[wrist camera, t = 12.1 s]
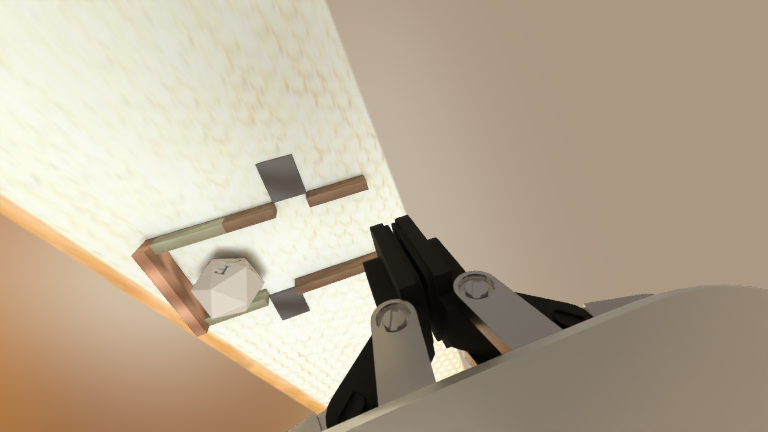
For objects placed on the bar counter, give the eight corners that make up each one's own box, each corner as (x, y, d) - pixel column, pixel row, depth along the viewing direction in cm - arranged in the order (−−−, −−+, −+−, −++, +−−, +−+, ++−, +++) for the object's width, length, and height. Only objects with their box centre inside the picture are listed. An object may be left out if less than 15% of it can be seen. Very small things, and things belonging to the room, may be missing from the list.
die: (275, 263, 48) (250, 263, 38) (261, 315, 46) (230, 329, 37) (228, 252, 48) (191, 250, 38) (212, 304, 46) (169, 315, 37)
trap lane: (117, 203, 37) (99, 216, 34) (352, 137, 41) (357, 142, 38) (221, 340, 51) (215, 360, 47) (390, 280, 55) (396, 294, 51)
